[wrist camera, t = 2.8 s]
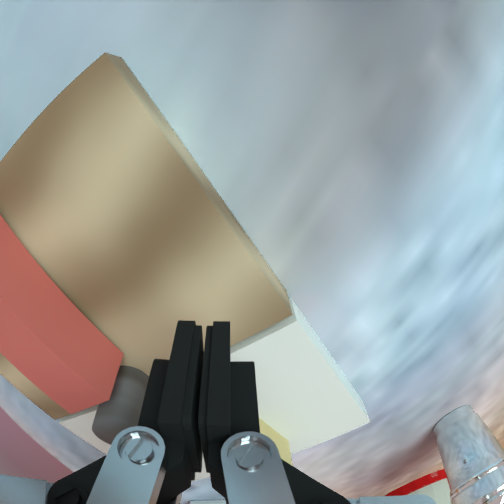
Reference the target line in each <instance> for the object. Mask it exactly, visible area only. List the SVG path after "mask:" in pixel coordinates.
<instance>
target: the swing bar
mask: <svg viewBox="0 0 504 504" xmlns="http://www.w3.org/2000/svg"><path fill="white" fill-rule="evenodd" d="M0 353H1V354H2V355H3V356H4V357H5V358H6V359H7V360H8V361H9V362H10V363H11V364H13V365H14V366H15V367H16V368H17V369H18V370H19V371H20V372H21V373H22V374H23V375H24V376H25V377H26V378H28V379H29V380H30V381H31V382H32V383H33V384H34V385H36V386H37V387H38V388H39V389H40V390H41V391H43V392H44V393H45V394H46V395H47V396H49V397H50V398H51V399H52V400H53V401H55V402H56V403H57V404H58V405H60V406H61V407H62V408H64V409H65V410H66V411H67V412H69V413H70V414H74V413H76V412H79V411H82V410H84V409H87V408H90V407H92V406H95V405H98V404H100V403H103V402H105V401H108V400H109V399H110V396H111V392H112V389H113V386H114V383H115V379H116V376H117V373H118V370H119V367H120V364H121V361H122V358H123V355H124V354H123V353H122V352H121V351H120V350H119V349H118V348H117V347H116V346H115V345H114V344H113V343H112V342H111V341H110V340H108V339H107V338H106V337H105V336H104V335H103V334H102V333H101V332H100V331H99V330H98V329H97V328H96V327H95V326H94V325H93V324H92V323H91V322H90V321H89V320H88V319H87V318H86V317H85V316H84V315H83V314H82V313H81V312H80V311H79V309H78V308H77V307H76V306H75V305H74V304H73V303H72V302H71V301H70V300H69V299H68V298H67V297H66V296H65V294H64V293H63V292H62V291H61V290H60V289H59V288H58V287H57V285H56V284H55V283H54V282H53V281H52V280H51V279H50V277H49V276H48V275H47V274H46V273H45V272H44V270H43V269H42V268H41V267H40V266H39V264H38V263H37V262H36V261H35V260H34V258H33V257H32V256H31V255H30V253H29V252H28V251H27V250H26V248H25V247H24V246H23V245H22V243H21V242H20V241H19V239H18V238H17V237H16V235H15V234H14V233H13V231H12V230H11V229H10V227H9V226H8V225H7V223H6V222H5V220H4V219H3V218H2V216H1V215H0Z"/></svg>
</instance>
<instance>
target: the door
mask: <svg viewBox="0 0 504 504" xmlns="http://www.w3.org/2000/svg"><path fill="white" fill-rule="evenodd" d="M288 299H289V303H290V307H291V310H292V314H293V315H291V316H289V317H287V318H285V319H284V320H282V321H280V322H278V323H276V324H274V325H272V326H270V327H268V328H266V329H264V330H262V331H260V332H258V333H256V334H254V335H252V336H250V337H248V338H246V339H244V340H242V341H240V342H238V343H236V344H234V345H232V346H230V361H254V364H255V376H256V389H257V401H258V413H259V426H260V433H262V434H264V435H266V436H268V437H269V438H270V439H271V440H272V441H273V442H274V443H275V444H276V446H277V448H278V451H279V454H280V457H281V459H283V460H284V461H286V462H287V463H289V464H290V465H292V459H291V454H293V453H296V452H299V451H302V450H305V449H307V448H310V447H313V446H315V445H318V444H320V443H323V442H325V441H328V440H330V439H333V438H335V437H338V436H340V435H342V434H345V433H347V432H349V431H351V430H354V429H356V428H358V427H360V426H362V425H365V424H367V423H369V422H370V420H369V417H368V414H367V411H366V409H365V406H364V403H363V401H362V400H361V398H360V397H359V395H358V394H357V392H356V391H355V389H354V388H353V387H352V385H351V384H350V382H349V381H348V379H347V378H346V376H345V375H344V374H343V372H342V371H341V369H340V368H339V366H338V365H337V363H336V362H335V360H334V359H333V358H332V356H331V355H330V353H329V352H328V350H327V349H326V347H325V346H324V345H323V343H322V342H321V340H320V339H319V337H318V336H317V334H316V333H315V332H314V330H313V329H312V327H311V326H310V324H309V323H308V321H307V320H306V319H305V317H304V316H303V314H302V313H301V311H300V310H299V309H298V307H297V306H296V304H295V303H294V301H293V300H292V298H291V297H289V298H288ZM98 405H99V404H98ZM98 405H95V406H92V407H90V408H87V409H84V410H82V411H79V412H76V413H74V414H70V415H67V416H64V417H62V418H61V420H60V424H61V425H63V426H64V427H65V428H67V429H68V430H70V431H71V432H72V433H74V434H75V435H77V436H78V437H80V438H81V439H83V440H84V441H86V442H87V443H89V444H90V445H92V446H93V447H95V448H97V449H98V450H100V451H101V452H103V453H105V454H106V455H107V453H108V451H109V449H110V447H111V445H110V444H108V443H106V442H104V441H102V440H101V439H99V438H98V437H97V436H96V435H95V434H94V433H93V431H92V425H93V421H94V418H95V415H96V411H97V408H98ZM209 477H210V473H207V472H206V467H205V462H204V456H203V454H202V471H201V473H200V472H195V480H199V479H204V478H209ZM191 481H194V480H191Z"/></svg>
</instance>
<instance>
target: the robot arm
mask: <svg viewBox="0 0 504 504" xmlns="http://www.w3.org/2000/svg"><path fill="white" fill-rule="evenodd" d="M202 454H203V456H204V462H205V467H206V472H207V473H210V477H211V483H212V488H214V489H215V490H216V491H217V492H218V493H220V494H221V495H222V496H223V497H224V498H225V502H226V504H436V502H435V501H434V500H433V499H432V498H431V497H429V496H427V495H422V494H415V495H401V496H379V497H359V498H358V499H346V498H344V497H343V496H341V495H340V494H338V493H336V492H334V491H333V490H331V489H329V488H327V487H326V486H324V485H322V484H321V483H319V482H317V481H316V480H314V479H312V478H311V477H309V476H307V475H306V474H304V473H303V472H301V471H299V470H298V469H296V468H295V467H293V466H292V465H290V464H289V463H287V462H286V461H284V460H283V459H281V457H280V454H279V451H278V448H277V446H276V444H275V443H274V442H273V441H272V440H271V439H270V438H269V437H268V436H266V435H264V434H262V433H260V426H259V413H258V401H257V389H256V376H255V364H254V361H230V321H213V326H207V327H206V337H205V347H203V334H202V325H196V322H195V321H184V320H178V323H177V327H176V331H175V336H174V341H173V345H172V350H171V355H170V359H169V360H166V359H154V361H153V364H152V367H151V371H150V375H149V379H148V383H147V387H146V392H145V396H144V400H143V404H142V408H141V413H140V417H139V422H138V426H135V427H129V428H127V429H125V430H123V431H121V432H120V433H119V434H117V436H116V437H115V439H114V440H113V442H112V444H111V447H110V449H109V451H108V453H107V455H106V456H104V457H102V458H100V459H99V460H97V461H95V462H93V463H91V464H89V465H87V466H86V467H84V468H82V469H80V470H78V471H76V472H74V473H72V474H71V475H68V476H66V477H64V478H62V479H60V480H58V481H57V482H56V483H48V482H47V481H46V480H38V479H30V478H21V477H14V476H7V475H1V474H0V504H180V501H181V497H182V492H183V491H185V490H186V489H188V488H189V487H190V486H191V480H195V472H200V473H201V471H202Z"/></svg>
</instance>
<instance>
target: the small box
mask: <svg viewBox="0 0 504 504" xmlns="http://www.w3.org/2000/svg"><path fill="white" fill-rule="evenodd" d="M190 504H226V502H225V500H195V501H190Z"/></svg>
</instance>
